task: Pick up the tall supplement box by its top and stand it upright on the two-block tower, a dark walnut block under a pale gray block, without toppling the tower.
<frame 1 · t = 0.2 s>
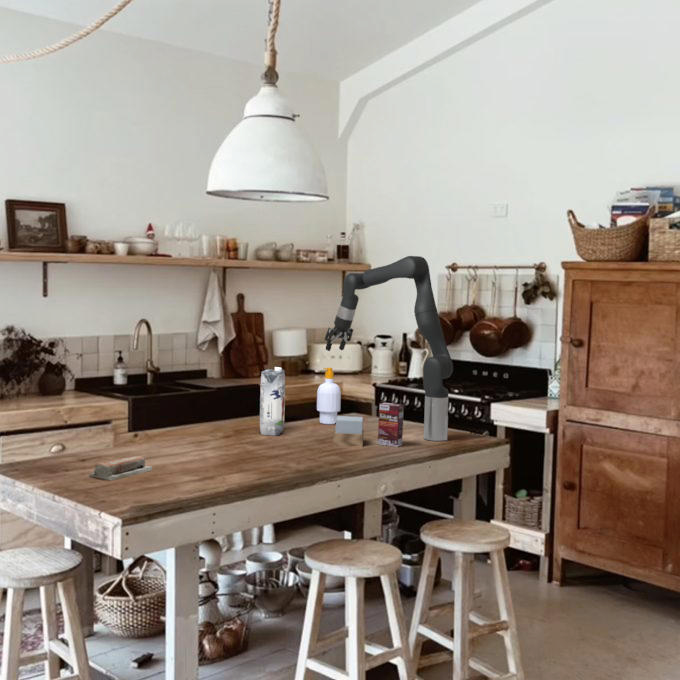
hand: (334, 349, 388), 31 cm above the table, tool tilted 20°, fingers open, 8 cm apart
soap bottle: (328, 423, 382), on the table
walnut block: (348, 444, 338), on the table, touching pale gray block
packaged product: (121, 475, 279), on the table
pale gray block: (349, 431, 338), point 5 cm above the table, touching walnut block
supplement box: (390, 445, 337), on the table
juice carton: (271, 434, 354), on the table
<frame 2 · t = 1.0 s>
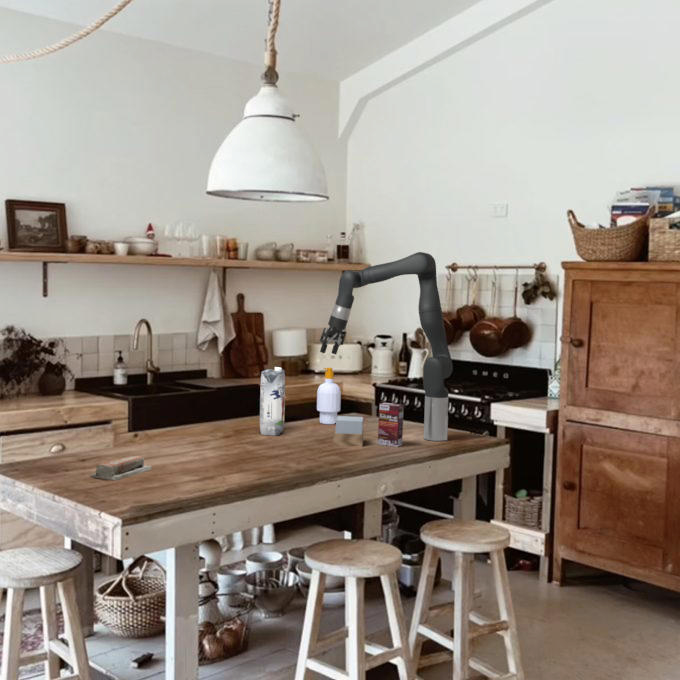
hand: (328, 353, 370), 31 cm above the table, tool tilted 15°, fingers open, 8 cm apart
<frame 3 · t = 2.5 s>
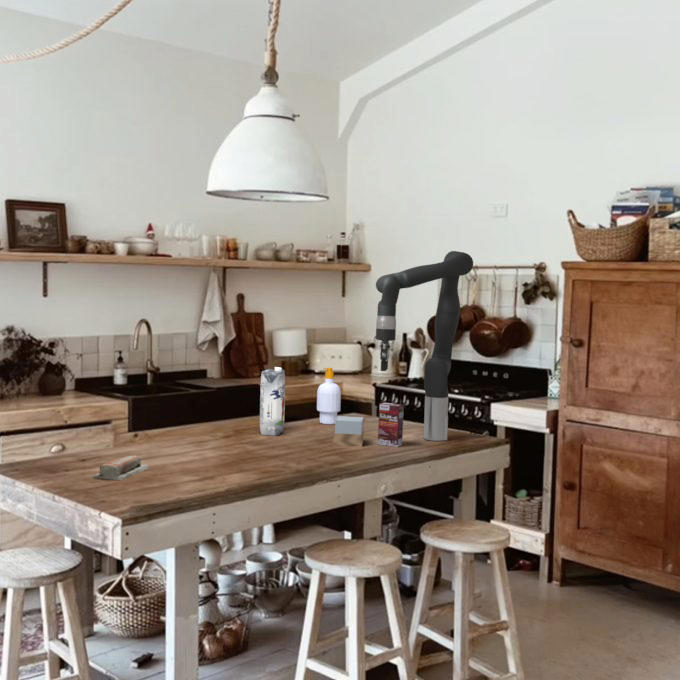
hand: (384, 370, 336), 29 cm above the table, tool pointing down, fingers open, 8 cm apart
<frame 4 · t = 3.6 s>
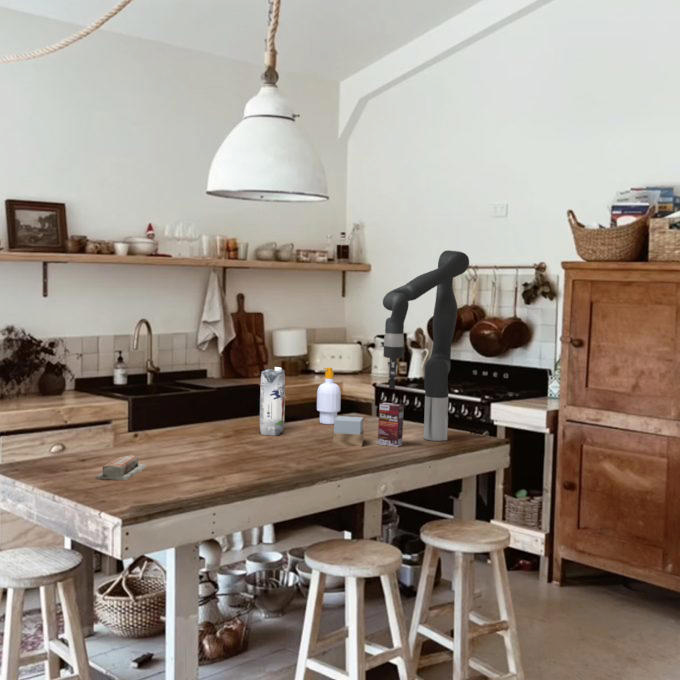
hand: (391, 387, 335), 22 cm above the table, tool pointing down, fingers open, 8 cm apart
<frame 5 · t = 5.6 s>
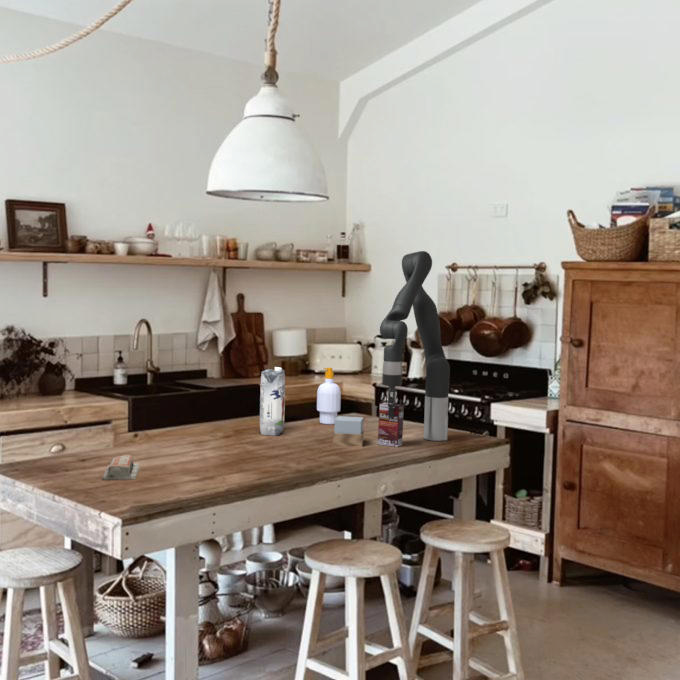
hand: (390, 416, 336), 11 cm above the table, tool pointing down, fingers closed on supplement box, 6 cm apart
walnut block: (348, 444, 338), on the table
pale gray block: (348, 431, 338), point 5 cm above the table
supplement box: (390, 445, 337), on the table, touching gripper
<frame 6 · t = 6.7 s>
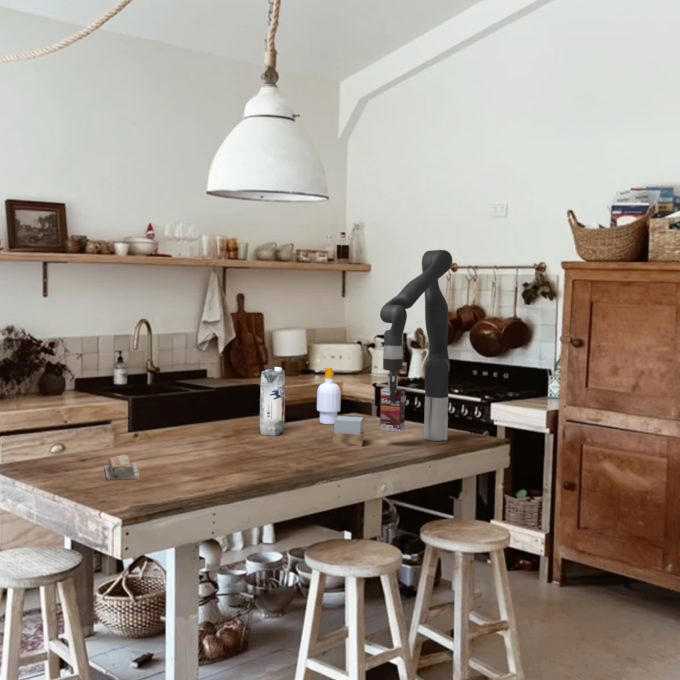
hand: (392, 400, 335), 17 cm above the table, tool pointing down, fingers closed on supplement box, 6 cm apart
supplement box: (392, 430, 336), point 6 cm above the table, touching gripper
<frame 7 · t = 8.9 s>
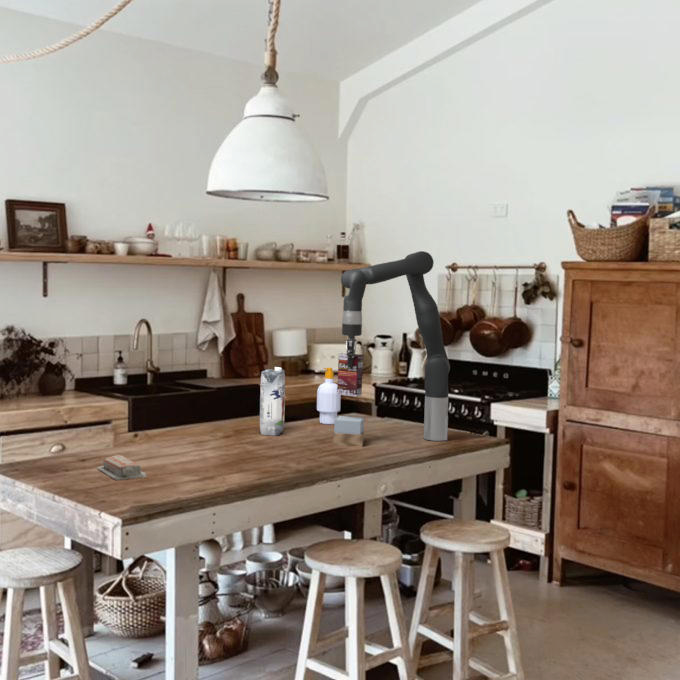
hand: (350, 366, 336), 30 cm above the table, tool pointing down, fingers closed on supplement box, 6 cm apart
walnut block: (348, 444, 338), on the table, touching pale gray block
pale gray block: (349, 431, 338), point 5 cm above the table, touching walnut block
supplement box: (349, 395, 337), point 18 cm above the table, touching gripper
when the fingers open (22 cm above the table, at t = 11.4 s): supplement box drops 1 cm, resting on pale gray block.
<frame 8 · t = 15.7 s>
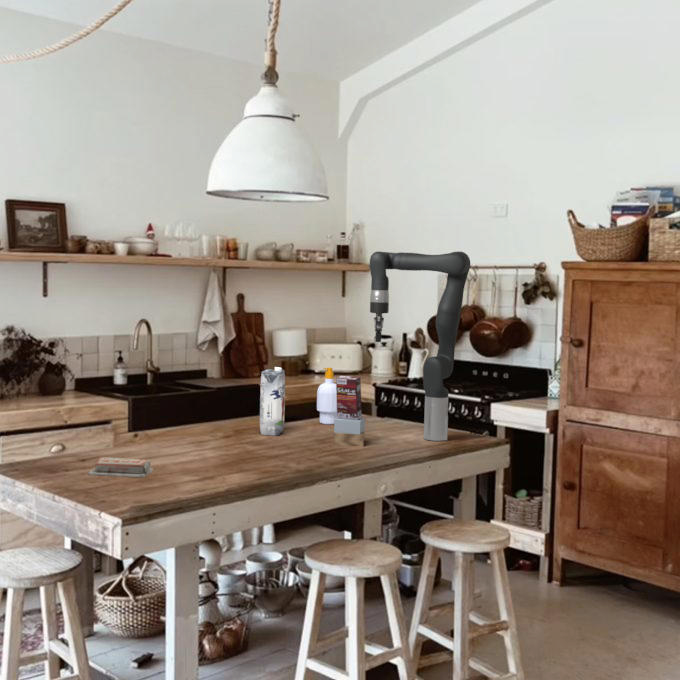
hand: (378, 341, 356), 38 cm above the table, tool pointing down, fingers open, 8 cm apart
pale gray block: (349, 431, 338), point 5 cm above the table, touching supplement box, walnut block
supplement box: (349, 418, 337), point 10 cm above the table, touching pale gray block
at the end: supplement box 0.4 cm off-centre on the pale gray block, point 4.9 cm above the pale gray block's base; supplement box tilted 2°; pale gray block 0.2 cm off-centre on the walnut block, point 5.0 cm above the walnut block's base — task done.
